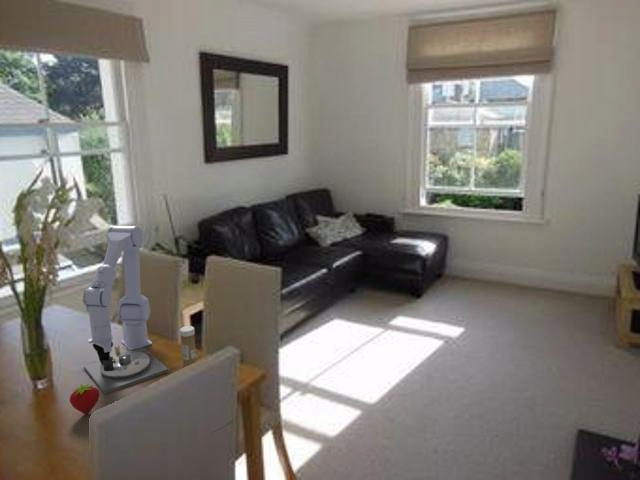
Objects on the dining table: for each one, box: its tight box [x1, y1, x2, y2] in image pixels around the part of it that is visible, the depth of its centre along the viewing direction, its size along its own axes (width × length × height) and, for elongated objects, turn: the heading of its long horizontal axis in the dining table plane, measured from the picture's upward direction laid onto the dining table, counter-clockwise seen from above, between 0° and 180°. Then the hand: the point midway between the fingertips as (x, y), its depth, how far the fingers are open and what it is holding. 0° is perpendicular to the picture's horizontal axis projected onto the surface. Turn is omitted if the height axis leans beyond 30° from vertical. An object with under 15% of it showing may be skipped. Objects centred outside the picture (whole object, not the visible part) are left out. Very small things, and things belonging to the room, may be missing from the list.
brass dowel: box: [114, 345, 121, 354], centre depth 166 cm, size 1×1×4 cm
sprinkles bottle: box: [179, 325, 197, 368], centre depth 161 cm, size 5×5×13 cm
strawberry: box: [69, 383, 100, 415], centre depth 136 cm, size 6×8×10 cm
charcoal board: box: [83, 346, 169, 395], centre depth 160 cm, size 20×20×1 cm
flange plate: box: [100, 350, 152, 379], centre depth 160 cm, size 16×15×5 cm
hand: (105, 363), depth 157 cm, fingers closed, pressing on flange plate
